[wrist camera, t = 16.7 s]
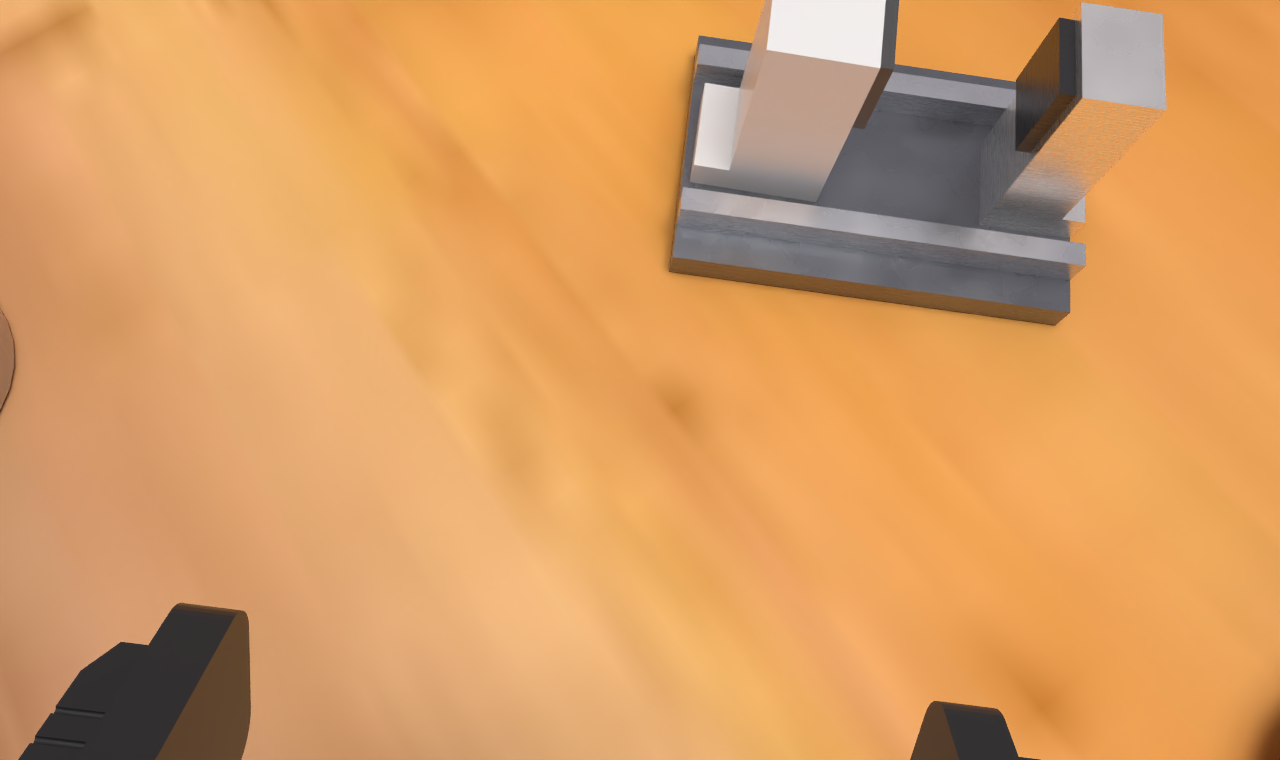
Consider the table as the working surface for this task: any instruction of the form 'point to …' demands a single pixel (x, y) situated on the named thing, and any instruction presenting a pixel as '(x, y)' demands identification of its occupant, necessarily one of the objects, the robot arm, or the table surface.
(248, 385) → the table surface
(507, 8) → the table surface
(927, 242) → the rail
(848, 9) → the white stepped block
